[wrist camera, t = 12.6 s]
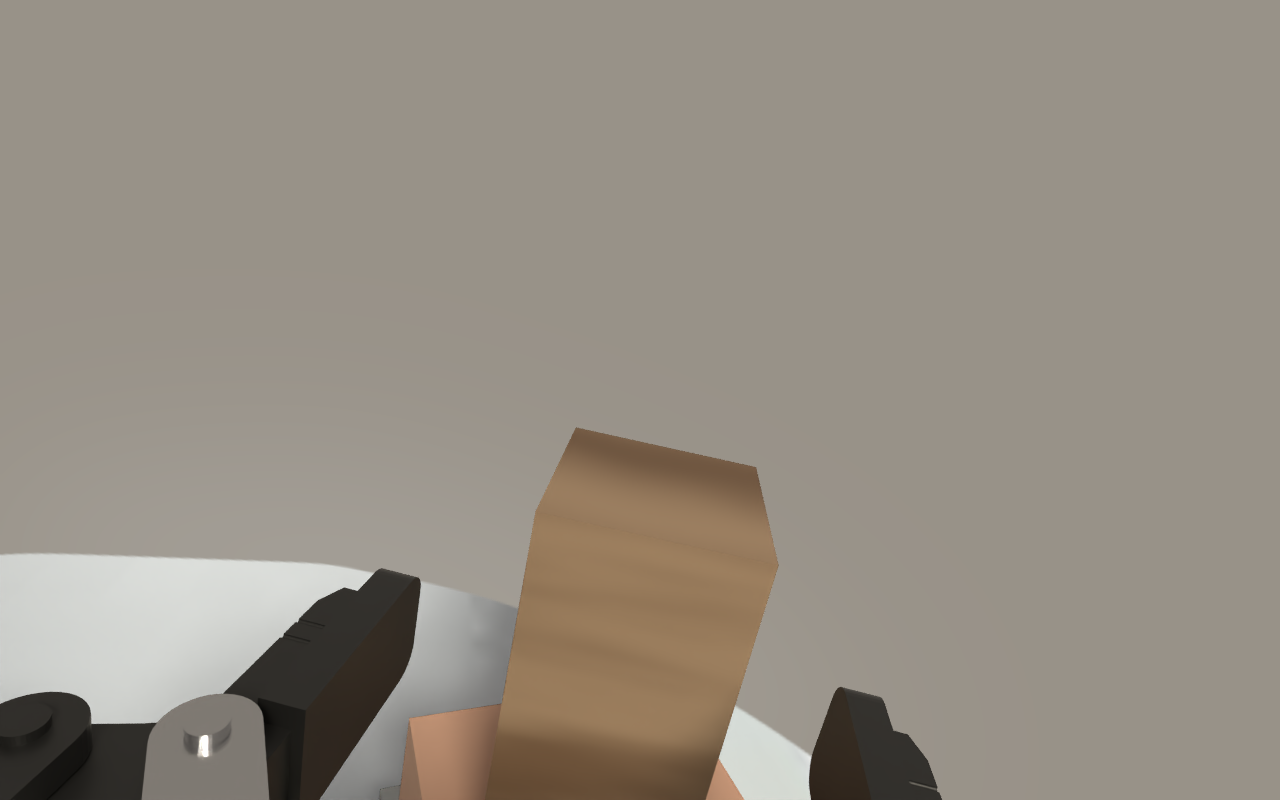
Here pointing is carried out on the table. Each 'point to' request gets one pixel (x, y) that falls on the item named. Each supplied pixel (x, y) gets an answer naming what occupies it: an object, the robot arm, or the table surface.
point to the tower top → (475, 757)
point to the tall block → (632, 624)
